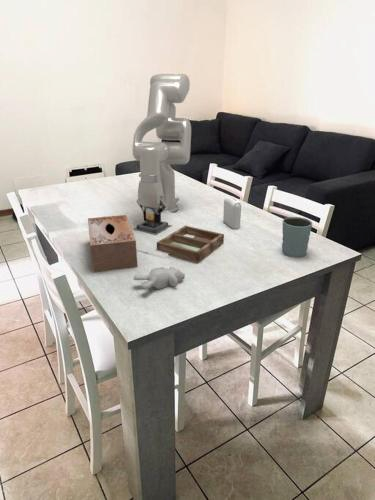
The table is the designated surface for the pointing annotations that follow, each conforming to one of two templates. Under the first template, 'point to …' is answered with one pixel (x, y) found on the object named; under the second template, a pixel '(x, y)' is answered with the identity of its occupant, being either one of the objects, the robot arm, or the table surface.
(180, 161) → the robot arm
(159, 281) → the bunny figurine
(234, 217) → the photo printer
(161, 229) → the tester cradle
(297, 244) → the green tapered cup
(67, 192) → the table surface
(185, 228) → the wooden divided tray
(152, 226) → the cell
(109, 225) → the tissue box cover
